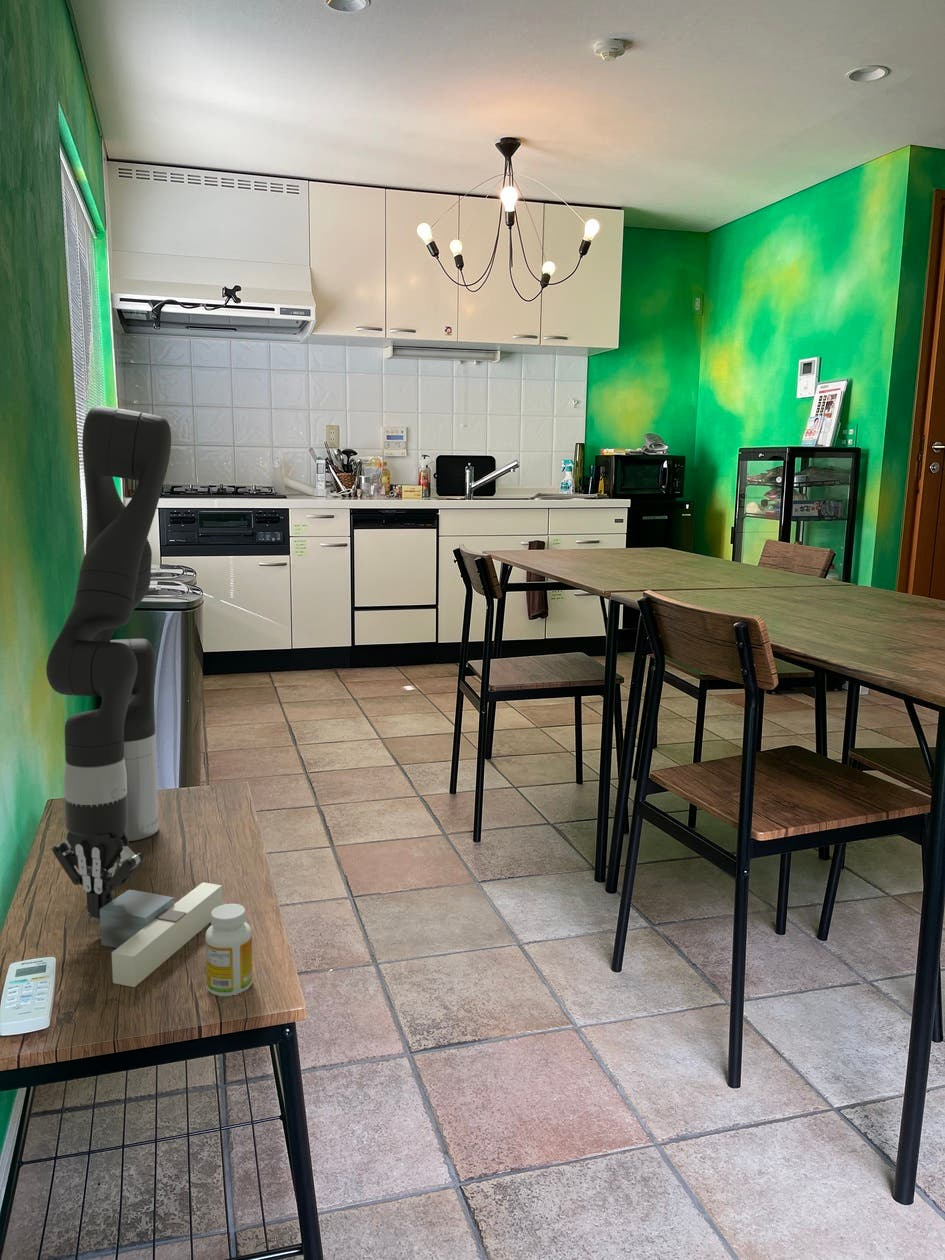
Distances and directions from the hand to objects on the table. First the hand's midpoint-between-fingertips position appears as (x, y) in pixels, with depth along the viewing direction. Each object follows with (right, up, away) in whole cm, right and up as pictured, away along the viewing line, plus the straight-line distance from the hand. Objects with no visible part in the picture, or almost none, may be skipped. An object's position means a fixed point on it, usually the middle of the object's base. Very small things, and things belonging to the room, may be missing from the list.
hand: (99, 915), depth 122 cm
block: (+5, -3, -1) cm, 6 cm away
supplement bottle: (+20, -5, -11) cm, 24 cm away
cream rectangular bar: (+10, -3, -2) cm, 11 cm away
